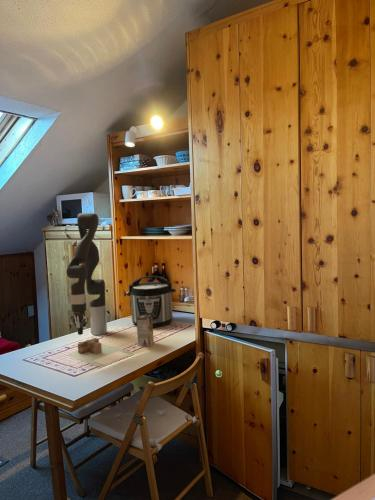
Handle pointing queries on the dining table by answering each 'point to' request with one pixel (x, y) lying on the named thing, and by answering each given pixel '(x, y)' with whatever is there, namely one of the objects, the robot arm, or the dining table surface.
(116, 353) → the board
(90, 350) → the t block
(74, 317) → the robot arm
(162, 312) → the pressure cooker
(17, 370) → the dining table surface
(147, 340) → the coffee box
